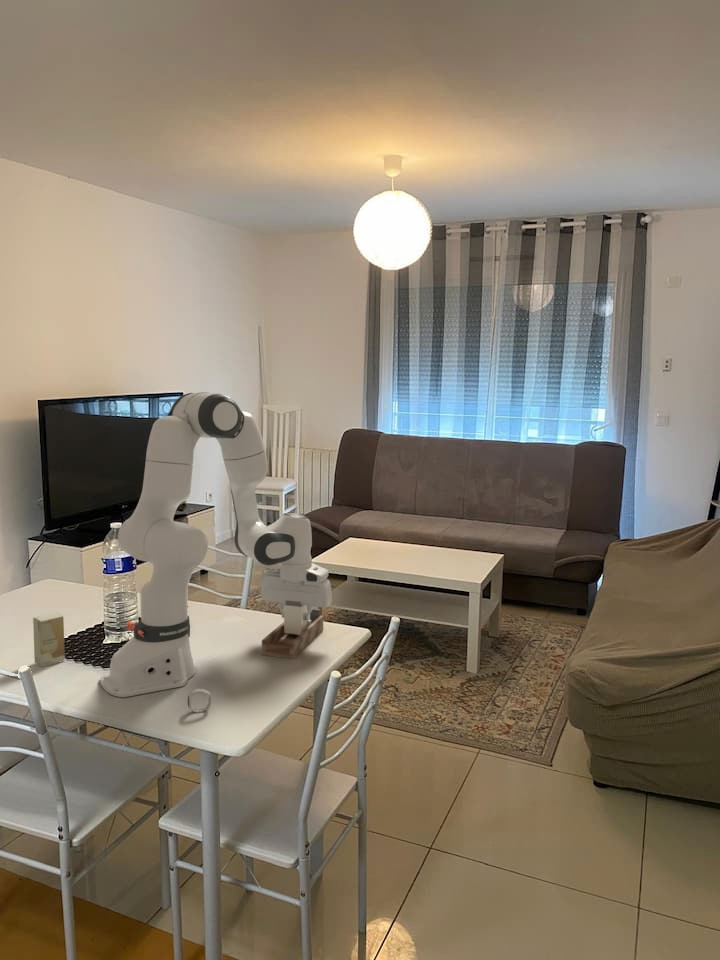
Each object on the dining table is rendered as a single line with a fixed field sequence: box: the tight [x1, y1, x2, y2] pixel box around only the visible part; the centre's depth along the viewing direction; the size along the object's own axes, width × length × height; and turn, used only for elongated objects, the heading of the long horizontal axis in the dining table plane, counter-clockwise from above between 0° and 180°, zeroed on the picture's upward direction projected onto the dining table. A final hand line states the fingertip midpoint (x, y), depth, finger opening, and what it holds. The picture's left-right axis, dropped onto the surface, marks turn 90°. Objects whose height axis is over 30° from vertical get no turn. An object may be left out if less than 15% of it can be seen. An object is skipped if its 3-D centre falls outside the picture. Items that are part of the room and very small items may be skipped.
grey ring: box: [187, 688, 212, 714], centre depth 159 cm, size 3×5×5 cm, turn 108°
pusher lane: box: [261, 607, 324, 660], centre depth 199 cm, size 23×9×6 cm, turn 163°
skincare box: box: [32, 611, 66, 668], centre depth 183 cm, size 6×4×12 cm
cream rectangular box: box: [283, 601, 308, 635], centre depth 200 cm, size 5×5×9 cm
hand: (295, 618), depth 200 cm, fingers closed on cream rectangular box, 5 cm apart
